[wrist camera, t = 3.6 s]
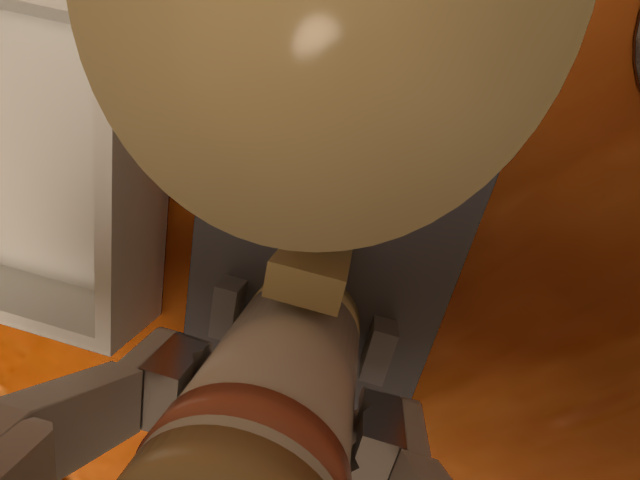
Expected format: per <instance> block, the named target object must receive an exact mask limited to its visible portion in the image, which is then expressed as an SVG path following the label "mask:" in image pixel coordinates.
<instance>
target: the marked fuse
mask: <svg viewBox="0 0 640 480" xmlns="http://www.w3.org/2000/svg"><path fill="white" fill-rule="evenodd" d="M263 285H264V284H263ZM263 285H262V286H261V288H260V289H259V290H258V291H257V293H256V294H255V295H254V297H253V298H252V299H251V301H250V302H249V303H248V305H247V306H246V307H245V309H244V310H243V311H242V313H241V314H240V315H239V317H238V318H237V319H236V321H235V322H234V323H233V325H232V326H231V327H230V329H229V330H228V331H227V333H226V334H225V335H224V337H223V338H222V339H221V341H220V342H219V343H218V345H217V346H216V348H215V349H214V350H213V352H212V353H211V354H210V356H209V357H208V358H207V360H206V361H205V362H204V364H203V365H202V366H201V368H200V369H199V370H198V372H197V373H196V374H195V376H194V377H193V378H192V380H191V381H190V382H189V384H188V385H187V386H186V388H185V389H184V390H183V392H182V393H181V394H180V396H179V397H178V398H177V399H176V400H174V401H173V402H172V403H171V404H170V405H169V407H168V408H167V409H166V410H165V411H164V413H163V414H162V415H161V417H160V418H159V419H158V421H157V422H156V423H155V425H154V426H153V427H152V428H151V430H150V431H149V432H148V434H147V435H146V436H145V438H144V439H143V440H142V442H141V444H140V445H139V447H138V449H137V451H136V454H135V456H134V457H133V458H132V460H131V461H130V462H129V464H128V465H127V466H126V468H125V469H124V470H123V472H122V473H121V474H120V476H119V477H118V478H117V480H352V475H351V467H350V463H351V449H352V435H353V421H354V407H355V393H356V379H357V364H358V350H359V336H360V316H359V312H358V308H357V306H356V303H355V302H354V300H353V298H352V297H351V295H350V294H349V293H348V291H347V290H346V289H345V290H344V294H343V298H342V302H341V305H340V309H339V313H338V317H334V316H331V315H327V314H323V313H320V312H316V311H312V310H309V309H305V308H302V307H298V306H294V305H291V304H287V303H283V302H280V301H276V300H272V299H269V298H265V297H261V296H262V290H263Z"/></svg>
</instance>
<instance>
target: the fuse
mask: <svg viewBox="0 0 640 480" xmlns="http://www.w3.org/2000/svg"><path fill="white" fill-rule="evenodd" d="M66 2H67V7H68V13H69V18H70V24H71V29H72V32H73V36H74V39H75V43H76V46H77V50H78V53H79V57H80V61H81V63H82V66H83V68H84V71H85V73H86V76H87V79H88V81H89V84H90V86H91V89H92V91H93V94H94V96H95V98H96V100H97V102H98V103H99V105H100V107H101V109H102V111H103V113H104V115H105V117H106V119H107V121H108V123H109V124H110V126H111V127H112V129H113V131H114V132H115V134H116V135H117V137H118V138H119V140H120V141H121V143H122V144H123V146H124V148H125V149H126V150H127V151H128V153H129V154H130V155H131V156H132V158H133V159H134V160H135V161H136V163H137V164H138V165H139V166H140V168H141V169H142V170H143V171H144V172H145V173H146V174H147V175H148V176H149V177H150V178H151V179H152V180H153V181H154V182H155V183H156V184H157V185H158V186H159V187H160V188H161V189H162V190H163V191H164V192H165V193H166V194H167V195H168V196H170V197H171V198H172V199H173V200H175V201H176V202H177V203H178V204H180V205H181V206H182V207H184V208H185V209H186V210H187V211H189V212H191V213H192V214H194V215H195V216H197V217H199V218H200V219H202V220H203V221H205V222H207V223H208V224H210V225H212V226H214V227H216V228H218V229H220V230H222V231H224V232H227V233H229V234H231V235H233V236H235V237H238V238H241V239H244V240H247V241H250V242H253V243H256V244H259V245H263V246H268V247H273V248H278V249H283V250H288V251H301V252H316V253H317V252H335V251H347V250H352V249H358V248H363V247H369V246H374V245H377V244H380V243H383V242H386V241H390V240H393V239H396V238H399V237H402V236H404V235H407V234H409V233H411V232H413V231H415V230H418V229H420V228H422V227H424V226H426V225H428V224H431V223H432V222H434V221H436V220H437V219H439V218H440V217H442V216H444V215H445V214H447V213H449V212H450V211H452V210H454V209H455V208H457V207H458V206H460V205H461V204H462V203H464V202H465V201H466V200H467V199H469V198H470V197H471V196H473V195H474V194H475V193H476V192H478V191H479V190H480V189H481V188H483V187H484V186H485V185H486V184H487V183H488V182H489V181H490V180H491V179H493V178H494V177H495V176H496V175H497V174H498V173H499V172H500V171H501V170H502V169H503V168H504V167H505V166H506V165H507V164H508V163H509V162H510V161H511V160H512V159H513V157H514V156H515V155H516V154H517V152H518V151H519V150H520V149H521V147H522V146H523V145H524V144H525V142H526V141H527V140H528V139H529V137H530V136H531V135H532V134H533V132H534V131H535V130H536V129H537V127H538V126H539V124H540V122H541V121H542V119H543V118H544V116H545V114H546V113H547V111H548V110H549V108H550V107H551V105H552V103H553V102H554V100H555V99H556V97H557V95H558V94H559V92H560V90H561V88H562V86H563V84H564V82H565V80H566V77H567V75H568V73H569V71H570V69H571V67H572V65H573V63H574V61H575V59H576V57H577V55H578V52H579V49H580V46H581V44H582V41H583V38H584V35H585V32H586V29H587V26H588V24H589V21H590V18H591V15H592V12H593V8H594V4H595V0H66Z"/></svg>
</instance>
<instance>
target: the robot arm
mask: <svg viewBox="0 0 640 480" xmlns="http://www.w3.org/2000/svg"><path fill="white" fill-rule="evenodd" d="M212 351H213V344H212V342H210V341H207V340H204V339H200V338H197V337H194V336H191V335H188V334H185V333H181V332H177V331H174V330H171V329H168V328H164V327H159V328H156V329H155V330H154V331H153V332H152V333H150V334H149V335H148V336H147V337H146V338H145V339H144V340H142V341H141V342H140V343H139V344H138V345H137V346H136V347H134V348H133V349H132V350H131V351H130V352H129V353H128V354H126V355H125V356H124V357H123V358H122V359H121V360H120V361H118V362H117V363H116V362H113V361H110V362H107V363H104V364H101V365H98V366H95V367H92V368H89V369H85V370H82V371H79V372H76V373H73V374H70V375H67V376H63V377H60V378H57V379H54V380H51V381H48V382H45V383H42V384H38V385H35V386H32V387H29V388H26V389H23V390H20V391H16V392H13V393H10V394H7V395H4V396H1V397H0V480H61V479H63V478H64V477H66V476H68V475H69V474H71V473H72V472H74V471H76V470H77V469H79V468H81V467H82V466H84V465H86V464H87V463H89V462H91V461H92V460H94V459H96V458H97V457H99V456H101V455H102V454H104V453H105V452H107V451H109V450H110V449H112V448H114V447H115V446H117V445H119V444H120V443H122V442H124V441H125V440H127V439H129V438H130V437H132V436H134V435H135V434H137V433H138V432H140V430H144V431H147V432H149V431H150V430H151V428H152V427H153V426H154V425H155V423H156V422H157V421H158V419H159V418H160V417H161V415H162V414H163V413H164V411H165V410H166V409H167V408H168V407H169V405H170V404H171V403H172V402H173V401H174V400H176V399H177V398H178V397H179V396H180V394H181V393H182V392H183V390H184V389H185V388H186V386H187V385H188V384H189V382H190V381H191V380H192V378H193V377H194V376H195V374H196V373H197V372H198V370H199V369H200V368H201V366H202V365H203V364H204V362H205V361H206V360H207V358H208V357H209V356H210V354H211V353H212ZM350 467H351V475H352V480H453V479H452V478H451V477H450V475H449V474H448V473H447V471H446V470H445V469H444V467H443V466H442V465H441V463H440V462H439V461H438V460H437V459H434V458H431V452H430V447H429V442H428V436H427V431H426V426H425V420H424V415H423V409H422V404H421V403H420V401H417V400H413V399H409V398H406V397H402V396H400V397H399V396H397V395H393V394H390V393H386V392H382V391H379V390H375V389H372V388H368V387H365V386H363V387H362V389H361V392H360V395H359V398H358V409H356V410H354V421H353V435H352V449H351V463H350Z"/></svg>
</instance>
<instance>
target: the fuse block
mask: <svg viewBox="0 0 640 480" xmlns="http://www.w3.org/2000/svg"><path fill="white" fill-rule="evenodd" d="M498 175H499V173H498V174H497V175H496V176H495V177H494V178H493V179H491V180H490V181H489V182H488V183H487V184H486V185H485V186H484V187H483V188H481V189H480V190H479V191H478V192H476V193H475V194H474V195H473V196H471V197H470V198H469V199H467V200H466V201H465V202H464V203H462V204H461V205H460V206H458V207H457V208H455V209H454V210H452V211H450V212H449V213H447V214H445V215H444V216H442V217H440V218H439V219H437V220H436V221H434V222H432V223H431V224H428V225H426V226H424V227H422V228H420V229H418V230H415V231H413V232H411V233H409V234H407V235H404V236H402V237H399V238H396V239H393V240H390V241H386V242H383V243H380V244H377V245H374V246H369V247H363V248H358V249H352V250H347V251H335V252H317V253H316V252H301V251H288V250H283V249H278V248H273V247H268V246H263V245H259V244H256V243H253V242H250V241H247V240H244V239H241V238H238V237H235V236H233V235H231V234H229V233H227V232H224V231H222V230H220V229H218V228H216V227H214V226H212V225H210V224H208V223H207V222H205V221H203V220H202V219H200V218H199V217H197V216H195V220H194V230H193V241H192V251H191V262H190V273H189V283H188V294H187V304H186V315H185V326H184V333H185V334H188V335H191V336H194V337H197V338H200V339H204V340H207V341H210V342H212V344H213V350H214V349H215V348H216V346H217V345H218V343H219V342H220V341H221V339H222V338H223V337H224V335H225V334H226V333H227V331H228V330H229V329H230V327H231V326H232V325H233V323H234V322H235V321H236V319H237V318H238V317H239V315H240V314H241V313H242V311H243V310H244V309H245V307H246V306H247V305H248V303H249V302H250V301H251V299H252V298H253V297H254V295H255V294H256V293H257V291H258V290H259V289H260V288H261V286H262V285H263V284H264V285H263V290H262V296H261V297H265V298H269V299H272V300H276V301H280V302H283V303H287V304H291V305H294V306H298V307H302V308H305V309H309V310H312V311H316V312H320V313H323V314H327V315H331V316H334V317H338V313H339V309H340V305H341V302H342V298H343V294H344V290H345V289H346V290H347V291H348V293H349V294H350V295H351V297H352V298H353V300H354V302H355V303H356V306H357V308H358V312H359V316H360V336H359V350H358V364H357V379H356V393H355V407H354V410H356V409H358V398H359V395H360V392H361V389H362V387H363V386H365V387H368V388H372V389H375V390H379V391H382V392H386V393H390V394H393V395H397V396H399V397H400V396H402V397H406V398H409V399H412V396H413V393H414V391H415V388H416V386H417V383H418V381H419V378H420V375H421V373H422V370H423V368H424V365H425V363H426V360H427V357H428V355H429V352H430V350H431V347H432V345H433V342H434V339H435V337H436V334H437V332H438V329H439V327H440V324H441V321H442V319H443V316H444V314H445V311H446V309H447V306H448V303H449V301H450V298H451V296H452V293H453V291H454V288H455V285H456V283H457V280H458V278H459V275H460V273H461V270H462V267H463V265H464V262H465V260H466V257H467V255H468V252H469V249H470V247H471V244H472V242H473V239H474V237H475V234H476V231H477V229H478V226H479V224H480V221H481V219H482V216H483V213H484V211H485V208H486V206H487V203H488V201H489V198H490V195H491V193H492V190H493V188H494V185H495V183H496V180H497V177H498ZM212 352H213V351H212Z"/></svg>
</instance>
